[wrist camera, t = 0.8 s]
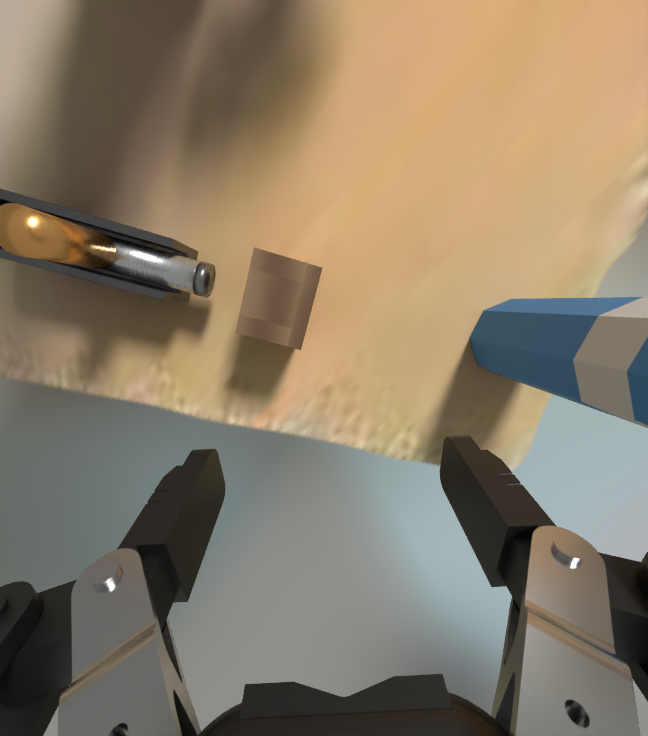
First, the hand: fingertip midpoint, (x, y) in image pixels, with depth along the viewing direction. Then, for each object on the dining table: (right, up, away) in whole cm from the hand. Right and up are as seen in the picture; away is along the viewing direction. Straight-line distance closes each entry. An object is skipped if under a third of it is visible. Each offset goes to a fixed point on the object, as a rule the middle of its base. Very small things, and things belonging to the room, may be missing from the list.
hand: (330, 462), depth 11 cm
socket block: (-5, +11, +23) cm, 26 cm away
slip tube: (-19, +14, +18) cm, 29 cm away
